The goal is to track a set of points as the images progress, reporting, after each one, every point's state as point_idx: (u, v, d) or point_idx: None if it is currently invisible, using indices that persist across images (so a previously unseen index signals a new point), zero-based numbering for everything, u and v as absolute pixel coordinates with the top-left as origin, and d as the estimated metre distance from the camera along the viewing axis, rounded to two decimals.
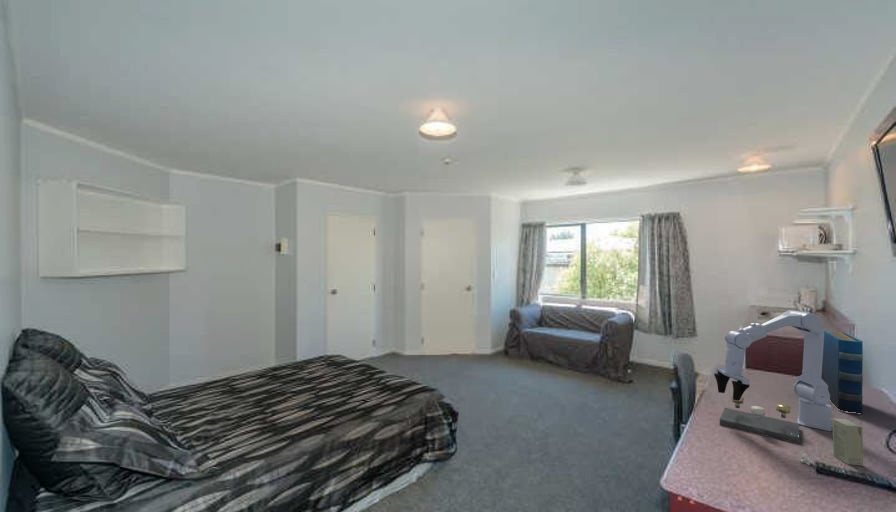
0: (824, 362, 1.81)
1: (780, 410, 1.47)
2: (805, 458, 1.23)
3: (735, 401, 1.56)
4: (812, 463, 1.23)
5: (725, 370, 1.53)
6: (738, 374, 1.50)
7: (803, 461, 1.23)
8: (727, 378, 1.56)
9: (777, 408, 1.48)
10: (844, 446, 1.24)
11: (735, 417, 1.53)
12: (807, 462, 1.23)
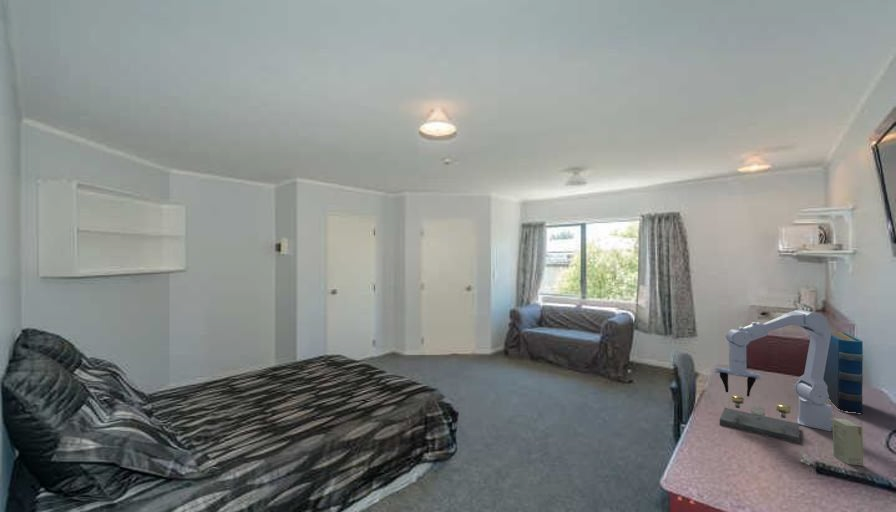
0: None
1: (780, 410, 1.47)
2: (805, 458, 1.23)
3: (735, 401, 1.56)
4: (812, 463, 1.22)
5: (736, 370, 1.55)
6: (746, 371, 1.55)
7: (803, 461, 1.23)
8: None
9: (777, 408, 1.48)
10: (844, 446, 1.24)
11: (735, 417, 1.53)
12: (807, 462, 1.23)
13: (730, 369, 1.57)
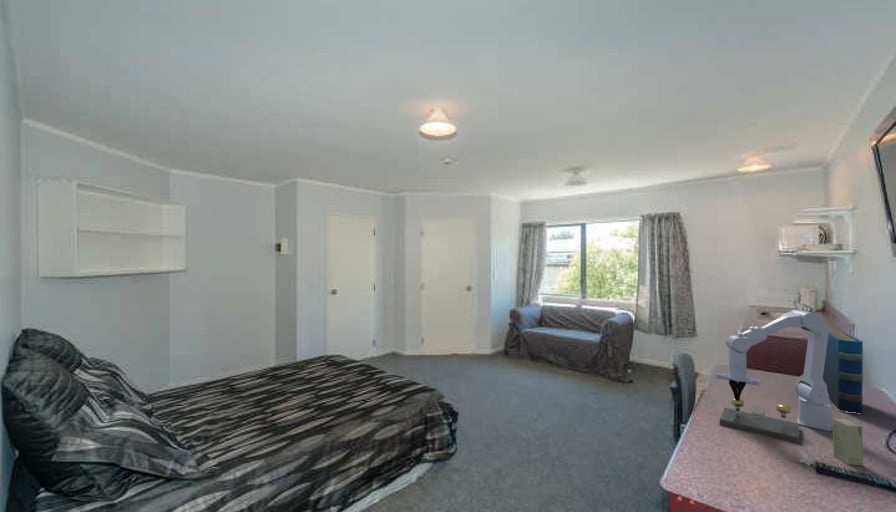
0: None
1: (780, 410, 1.47)
2: (805, 458, 1.23)
3: (735, 404, 1.56)
4: (812, 463, 1.22)
5: (736, 377, 1.55)
6: (746, 377, 1.55)
7: (803, 461, 1.23)
8: (737, 383, 1.58)
9: (777, 408, 1.48)
10: (844, 446, 1.24)
11: (735, 417, 1.53)
12: (807, 462, 1.23)
13: (730, 375, 1.57)
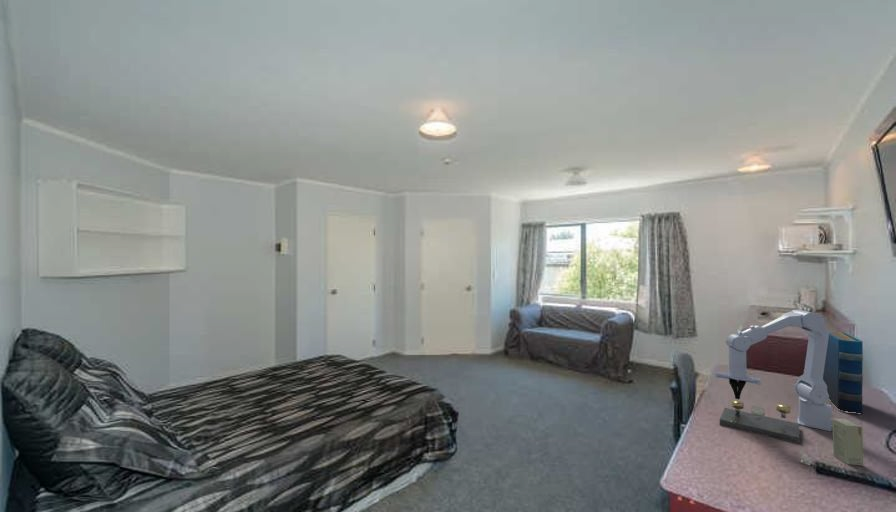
0: None
1: (780, 410, 1.47)
2: (805, 459, 1.23)
3: (735, 406, 1.56)
4: (812, 464, 1.22)
5: (736, 375, 1.55)
6: (746, 376, 1.55)
7: (803, 462, 1.23)
8: None
9: (777, 408, 1.48)
10: (844, 446, 1.24)
11: (735, 417, 1.53)
12: (807, 463, 1.22)
13: (730, 374, 1.57)
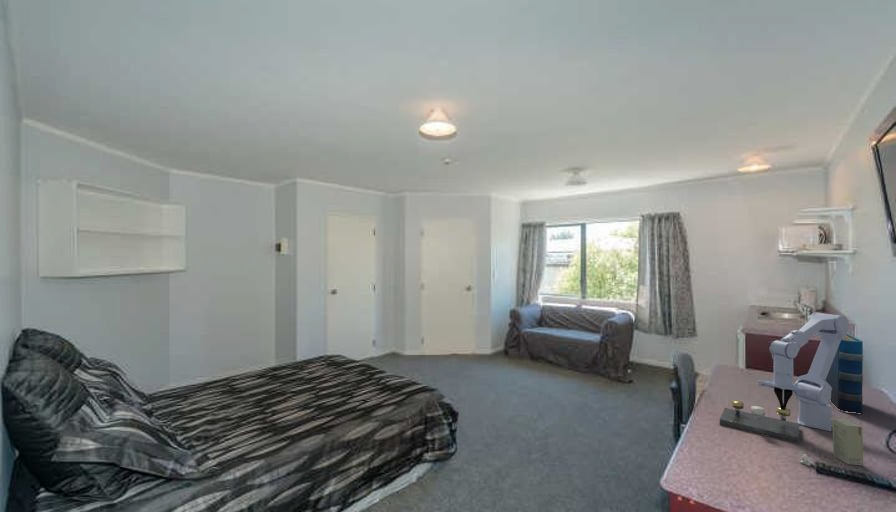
0: None
1: (780, 413, 1.47)
2: (805, 459, 1.23)
3: (735, 406, 1.56)
4: (812, 464, 1.22)
5: (782, 384, 1.46)
6: (793, 385, 1.46)
7: (803, 462, 1.23)
8: None
9: (777, 411, 1.48)
10: (844, 446, 1.24)
11: (735, 417, 1.53)
12: (807, 463, 1.22)
13: (775, 383, 1.48)
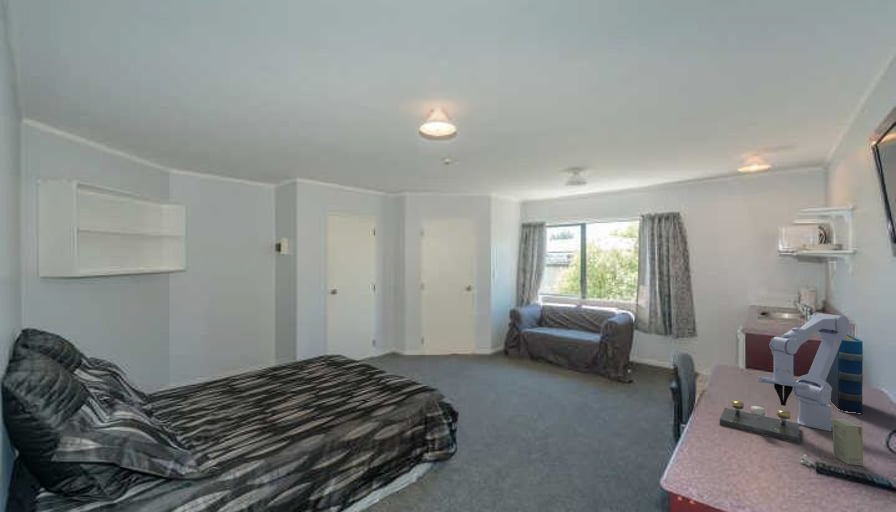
0: None
1: (780, 416, 1.47)
2: (805, 459, 1.23)
3: (735, 406, 1.56)
4: (812, 464, 1.22)
5: (782, 380, 1.46)
6: (793, 381, 1.46)
7: (803, 462, 1.23)
8: None
9: (777, 413, 1.48)
10: (844, 446, 1.24)
11: (735, 417, 1.53)
12: (807, 463, 1.22)
13: (775, 379, 1.48)
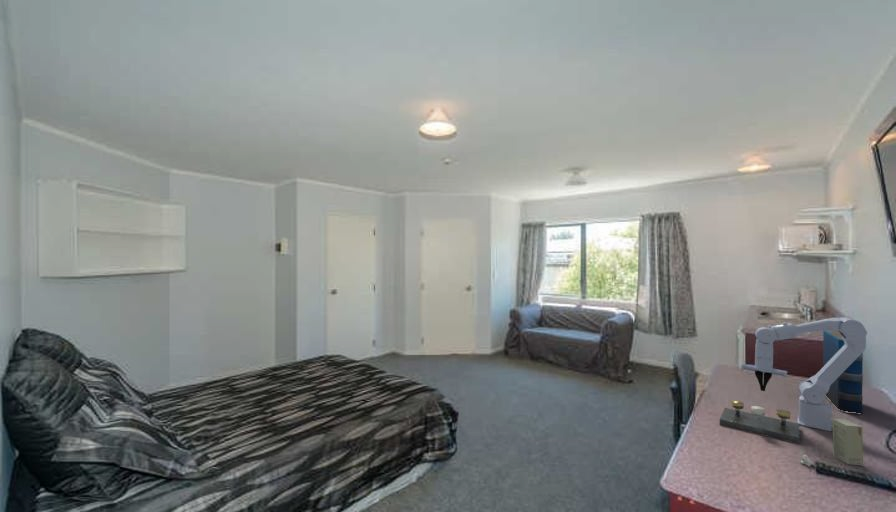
0: (824, 362, 1.81)
1: (780, 416, 1.47)
2: (805, 459, 1.22)
3: (735, 406, 1.56)
4: (812, 464, 1.22)
5: (762, 367, 1.57)
6: (772, 368, 1.57)
7: (803, 462, 1.23)
8: None
9: (777, 413, 1.48)
10: (844, 446, 1.24)
11: (735, 417, 1.53)
12: (807, 463, 1.22)
13: (756, 366, 1.59)
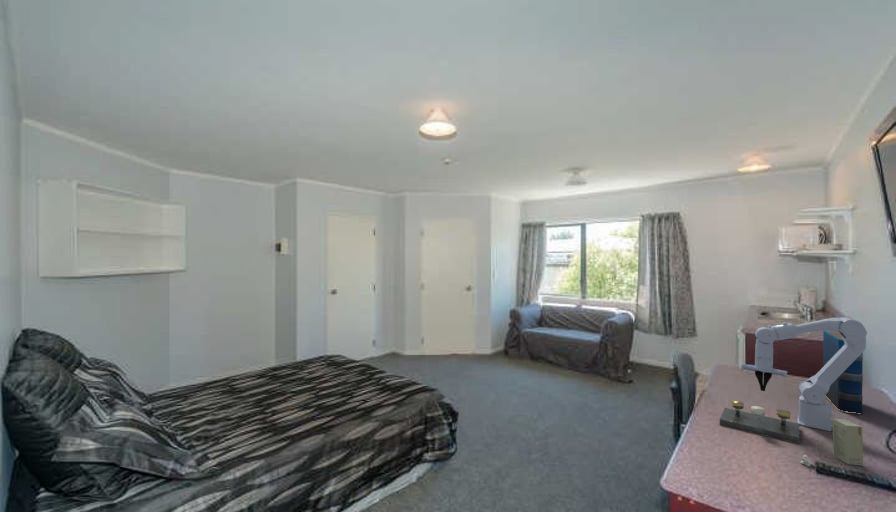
0: (824, 362, 1.81)
1: (780, 416, 1.47)
2: (805, 459, 1.22)
3: (735, 406, 1.56)
4: (812, 464, 1.22)
5: (762, 367, 1.57)
6: (772, 368, 1.57)
7: (803, 462, 1.23)
8: None
9: (777, 413, 1.48)
10: (844, 446, 1.24)
11: (735, 417, 1.53)
12: (807, 463, 1.22)
13: (756, 366, 1.59)
